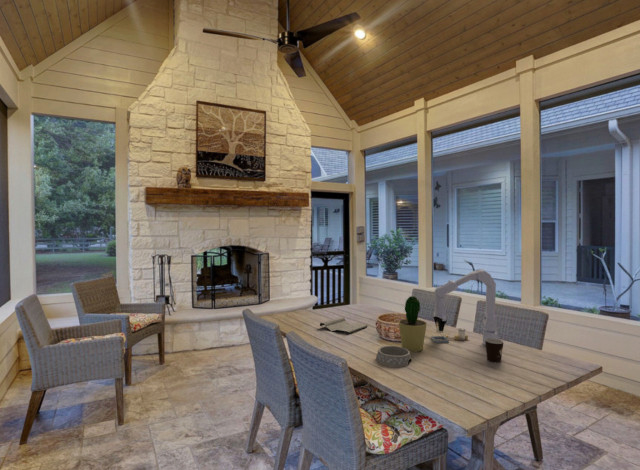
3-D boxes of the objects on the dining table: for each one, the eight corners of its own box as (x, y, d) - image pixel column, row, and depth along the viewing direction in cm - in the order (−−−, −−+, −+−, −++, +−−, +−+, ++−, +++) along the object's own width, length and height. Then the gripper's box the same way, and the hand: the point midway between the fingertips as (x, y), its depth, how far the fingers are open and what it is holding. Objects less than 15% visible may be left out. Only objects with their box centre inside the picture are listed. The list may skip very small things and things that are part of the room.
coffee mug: (492, 364, 189) (493, 344, 188) (481, 358, 197) (481, 339, 197) (512, 361, 192) (512, 342, 192) (499, 356, 200) (500, 337, 200)
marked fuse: (444, 333, 222) (444, 323, 222) (437, 333, 222) (437, 323, 221) (441, 331, 226) (441, 321, 226) (435, 331, 226) (435, 321, 226)
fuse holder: (470, 342, 224) (470, 336, 224) (447, 342, 223) (447, 337, 223) (465, 338, 231) (465, 333, 231) (443, 338, 230) (443, 333, 230)
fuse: (466, 340, 225) (466, 330, 225) (459, 340, 225) (460, 330, 225) (463, 338, 229) (463, 328, 229) (457, 338, 229) (457, 328, 229)
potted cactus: (415, 355, 202) (415, 299, 201) (392, 347, 214) (393, 295, 213) (432, 348, 212) (432, 295, 211) (409, 342, 223) (410, 291, 223)
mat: (348, 336, 238) (348, 328, 237) (319, 329, 252) (319, 322, 252) (368, 328, 256) (368, 321, 256) (339, 322, 270) (339, 316, 270)
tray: (448, 344, 220) (448, 340, 220) (435, 344, 220) (435, 340, 220) (443, 339, 228) (443, 336, 228) (430, 340, 228) (430, 336, 228)
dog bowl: (415, 358, 197) (415, 348, 197) (404, 370, 182) (404, 359, 182) (384, 352, 206) (384, 343, 206) (371, 363, 190) (371, 352, 190)
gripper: (429, 304, 231) (429, 326, 231) (437, 310, 216) (437, 333, 216) (440, 304, 231) (440, 326, 231) (449, 310, 216) (449, 333, 217)
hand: (439, 330), depth 224 cm, fingers closed on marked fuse, 4 cm apart
